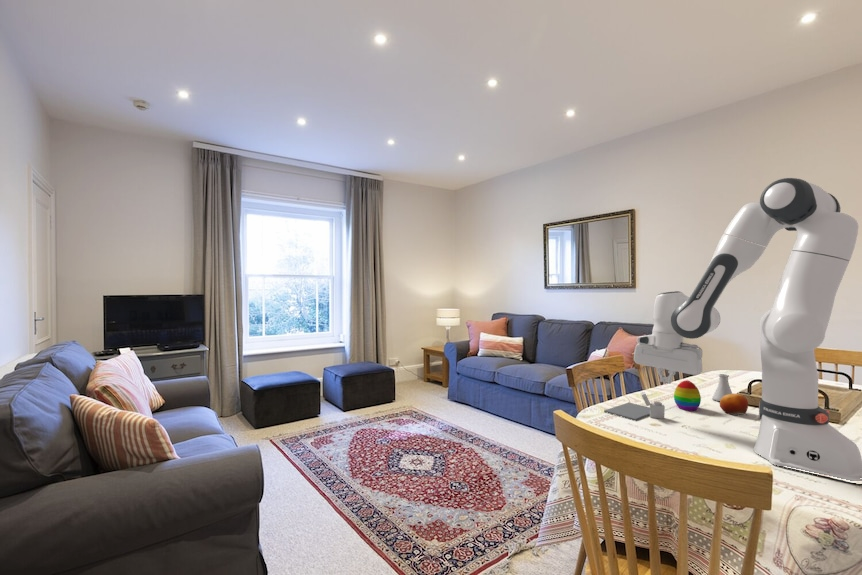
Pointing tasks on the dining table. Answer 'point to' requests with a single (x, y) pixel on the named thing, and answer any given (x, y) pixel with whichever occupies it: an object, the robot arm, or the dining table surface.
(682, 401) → the decorative egg
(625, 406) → the mat
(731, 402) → the fruit
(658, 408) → the lighter
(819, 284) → the robot arm
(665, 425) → the dining table surface
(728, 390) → the flask
